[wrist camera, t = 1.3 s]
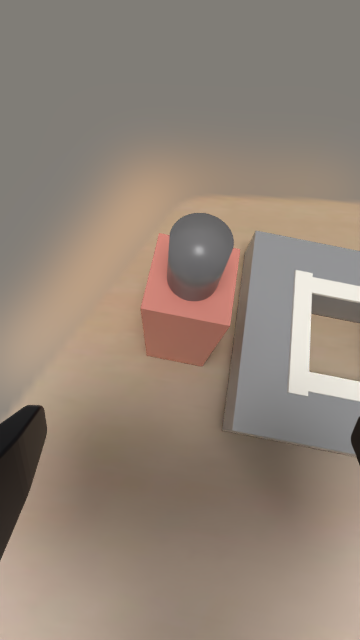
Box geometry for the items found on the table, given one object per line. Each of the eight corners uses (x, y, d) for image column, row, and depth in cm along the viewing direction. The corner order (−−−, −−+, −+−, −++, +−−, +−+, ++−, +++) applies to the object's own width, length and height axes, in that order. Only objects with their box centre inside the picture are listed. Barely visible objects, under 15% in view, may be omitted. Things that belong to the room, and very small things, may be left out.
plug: (201, 366, 22) (248, 298, 11) (146, 355, 22) (136, 276, 11) (210, 314, 23) (259, 207, 12) (158, 304, 23) (159, 187, 12)
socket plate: (427, 470, 21) (473, 477, 18) (222, 430, 21) (233, 430, 18) (411, 285, 26) (445, 266, 23) (244, 252, 26) (256, 228, 22)
